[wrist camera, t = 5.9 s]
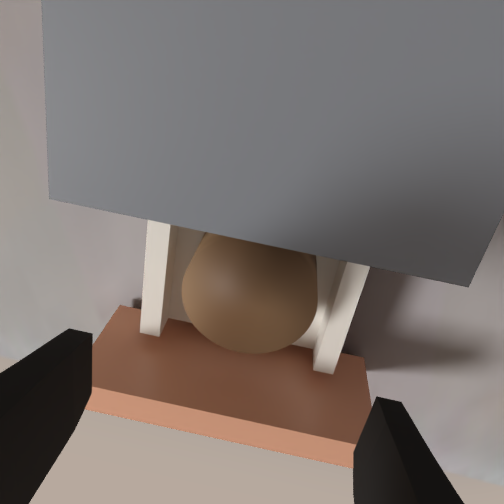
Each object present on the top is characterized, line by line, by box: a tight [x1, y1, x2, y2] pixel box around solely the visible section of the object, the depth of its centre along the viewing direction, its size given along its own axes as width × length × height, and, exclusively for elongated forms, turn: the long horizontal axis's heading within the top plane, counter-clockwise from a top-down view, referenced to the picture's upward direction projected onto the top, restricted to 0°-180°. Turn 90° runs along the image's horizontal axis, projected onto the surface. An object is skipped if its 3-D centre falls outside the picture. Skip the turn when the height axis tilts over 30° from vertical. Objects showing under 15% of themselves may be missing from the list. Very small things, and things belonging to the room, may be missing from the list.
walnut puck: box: [181, 232, 318, 354], centre depth 16 cm, size 5×5×2 cm
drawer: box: [85, 220, 372, 468], centre depth 16 cm, size 11×10×5 cm
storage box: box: [41, 0, 504, 287], centre depth 12 cm, size 11×10×6 cm
